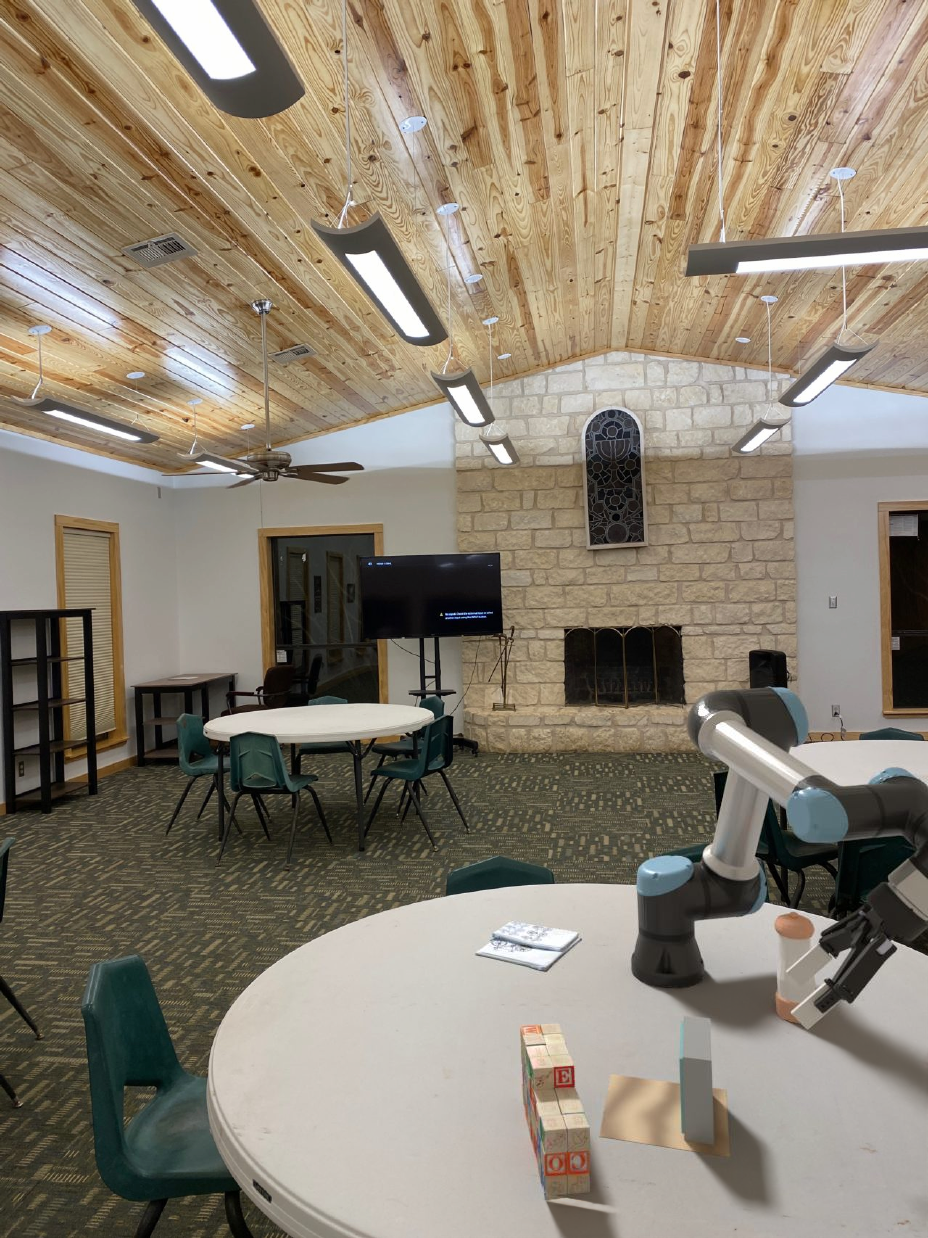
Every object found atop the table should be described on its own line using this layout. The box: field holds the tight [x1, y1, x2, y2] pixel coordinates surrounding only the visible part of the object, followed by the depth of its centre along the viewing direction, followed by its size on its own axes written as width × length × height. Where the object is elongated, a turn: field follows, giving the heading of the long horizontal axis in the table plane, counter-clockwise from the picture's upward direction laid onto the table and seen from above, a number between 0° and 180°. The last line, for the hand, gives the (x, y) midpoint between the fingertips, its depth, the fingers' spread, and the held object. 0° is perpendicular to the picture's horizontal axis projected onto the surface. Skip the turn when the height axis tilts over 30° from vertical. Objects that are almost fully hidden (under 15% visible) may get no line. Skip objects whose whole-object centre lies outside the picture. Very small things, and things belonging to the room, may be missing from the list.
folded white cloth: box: [474, 920, 582, 972], centre depth 182 cm, size 19×20×2 cm
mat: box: [598, 1073, 731, 1158], centre depth 119 cm, size 18×16×1 cm
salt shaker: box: [773, 911, 816, 1024], centre depth 148 cm, size 7×7×19 cm
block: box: [678, 1015, 714, 1145], centre depth 118 cm, size 4×12×12 cm, turn 163°
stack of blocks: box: [519, 1022, 591, 1200], centre depth 114 cm, size 21×6×12 cm, turn 4°
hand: (795, 998), depth 113 cm, fingers open, 13 cm apart
